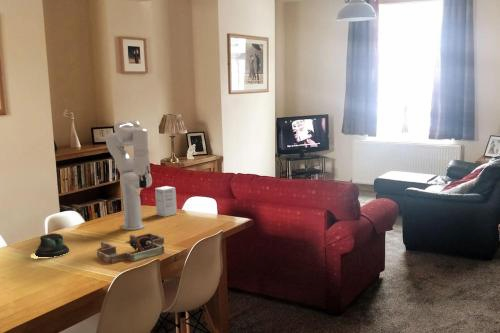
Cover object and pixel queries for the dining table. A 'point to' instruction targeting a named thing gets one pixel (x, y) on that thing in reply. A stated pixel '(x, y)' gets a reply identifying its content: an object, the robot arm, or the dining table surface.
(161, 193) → the supplement box
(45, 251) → the dark green fedora
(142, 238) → the pottery mug
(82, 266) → the dining table surface
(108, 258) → the trap lane
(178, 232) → the dining table surface
